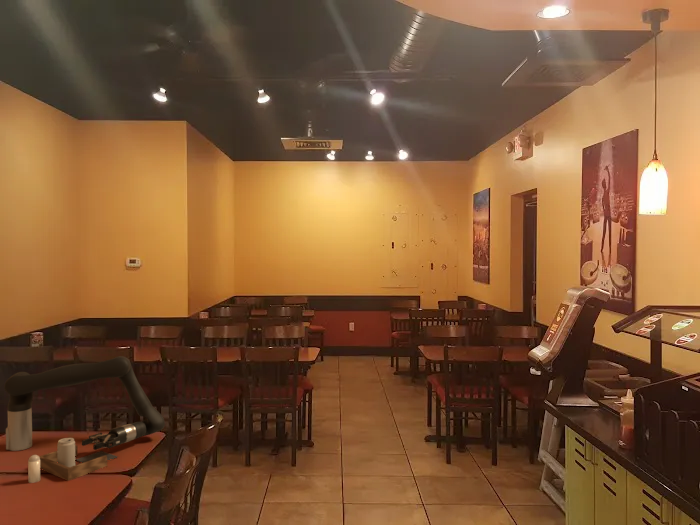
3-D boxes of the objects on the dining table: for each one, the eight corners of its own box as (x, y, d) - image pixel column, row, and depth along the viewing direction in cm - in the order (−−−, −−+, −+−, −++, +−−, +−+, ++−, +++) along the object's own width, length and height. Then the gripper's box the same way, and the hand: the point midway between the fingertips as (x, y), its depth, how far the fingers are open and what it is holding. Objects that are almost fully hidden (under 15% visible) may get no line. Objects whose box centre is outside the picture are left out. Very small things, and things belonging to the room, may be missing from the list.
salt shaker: (26, 483, 210) (26, 457, 209) (31, 478, 214) (30, 453, 213) (37, 482, 210) (37, 456, 210) (42, 478, 214) (41, 452, 214)
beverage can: (68, 473, 219) (67, 443, 219) (53, 471, 220) (53, 441, 220) (79, 466, 225) (78, 437, 225) (65, 465, 227) (64, 436, 226)
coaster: (101, 451, 242) (101, 450, 242) (118, 457, 235) (118, 456, 235) (75, 460, 232) (75, 459, 232) (91, 466, 225) (91, 465, 225)
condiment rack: (75, 455, 238) (75, 445, 238) (107, 466, 225) (106, 455, 225) (37, 467, 224) (37, 456, 224) (68, 480, 212) (68, 469, 212)
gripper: (112, 423, 248) (78, 433, 234) (132, 429, 240) (97, 439, 226) (112, 439, 248) (78, 450, 234) (132, 446, 240) (98, 458, 227)
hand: (87, 445), depth 230 cm, fingers open, 8 cm apart
